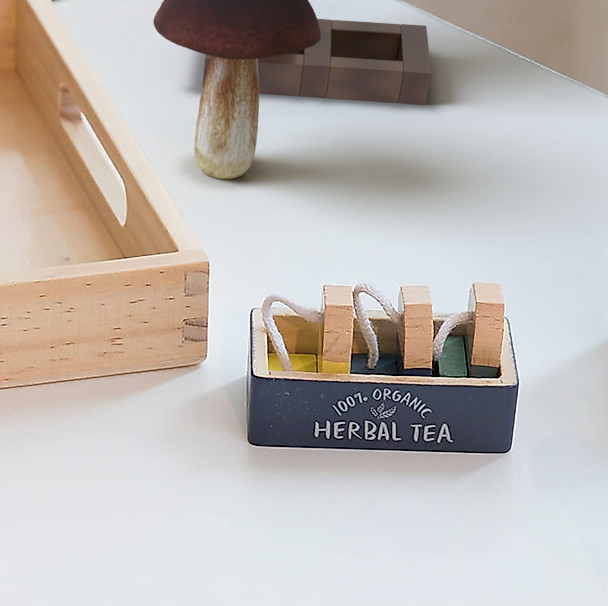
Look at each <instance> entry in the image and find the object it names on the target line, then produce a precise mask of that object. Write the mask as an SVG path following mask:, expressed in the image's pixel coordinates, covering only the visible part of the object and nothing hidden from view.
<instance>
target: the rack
mask: <svg viewBox="0 0 608 606" xmlns="http://www.w3.org/2000/svg"><path fill="white" fill-rule="evenodd" d="M317 20H318V23H319V27H320V31H321V38H320V41H319V42H318V43H317V44H316V45H314V46H312V47H309V48H306V49H303V50H300V51H296V52H293V53H289V54H283V55H277V56H272V57H266V58H258V74H259V95H271V96H272V95H273V96H286V97H299V98H300V97H302V98H314V99H315V98H316V99H330V100H345V101H360V102H372V103H373V102H374V103H387V104H401V105H415V106H426V104H427V103H426V102H427V97H428V91H429V88H430V87H429V86H430V82H431V78H432V77H431V76H432V68H431V57H430V49H429V40H428V39H429V38H428V28H427V25H424V24H423V25H422V24H409V23H408V24H407V23H401V24H400V23H389V22H388V23H387V22H374V21H373V22H372V21H357V20H340V19H339V20H338V19H326V18H317ZM204 55H205V54H204ZM210 57H211V56H209V55H205V56H204V62H203V73H202V87H201V91H202V90H203V86H204V82H205V78H206V74H207V70H208V66H209V62H210Z"/></svg>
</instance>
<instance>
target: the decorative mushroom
mask: <svg viewBox="0 0 608 606" xmlns="http://www.w3.org/2000/svg"><path fill="white" fill-rule="evenodd" d="M317 19H318V16H317V14H316V12H315V10H314V8H313V6H312V4H311V3H310V1H309V0H162V2H161V4H160V7H159V8H158V9H157V11H156V12H155V15H154V17H153V26H154V28H155V30H156V31H157V33H158V34H159V35H160V36H161V37H162V38H164V39H165V40H167V41H169V42H171V43H173V44H175V45H177V46H179V47H182V48H185V49H188V50H191V51H194V52H197V53H200V54H202V55H209V56H211V57H210V62H209V66H208V70H207V74H206V78H205V82H204V86H203V90H202V89H201V94H200V98H199V105H198V113H197V117H196V124H195V125H196V126H195V136H194V149H193V150H194V155H195V156H194V159H195V162H196V165H197V167H198V169H200V170H201V171H202V173H203V174H205V175H206V176H208V177H210V178H213V179H218V180H233V179H236V178H240V177H242V176H243V175H244V174H245V173H247V172H248V170H249V169H250V168H251V166H252V163H253V161H254V158H255V154H256V150H257V149H256V148H257V141H258V140H257V139H258V129H259V115H260V113H259V111H260V94H259V74H258V58H266V57H272V56H277V55H283V54H289V53H293V52H296V51H300V50H303V49H306V48H309V47H312V46H314V45H316V44H317V43H318V42H319V41H320V38H321V31H320V27H319V23H318V20H317Z"/></svg>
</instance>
